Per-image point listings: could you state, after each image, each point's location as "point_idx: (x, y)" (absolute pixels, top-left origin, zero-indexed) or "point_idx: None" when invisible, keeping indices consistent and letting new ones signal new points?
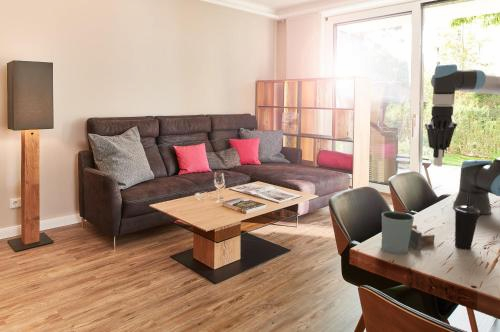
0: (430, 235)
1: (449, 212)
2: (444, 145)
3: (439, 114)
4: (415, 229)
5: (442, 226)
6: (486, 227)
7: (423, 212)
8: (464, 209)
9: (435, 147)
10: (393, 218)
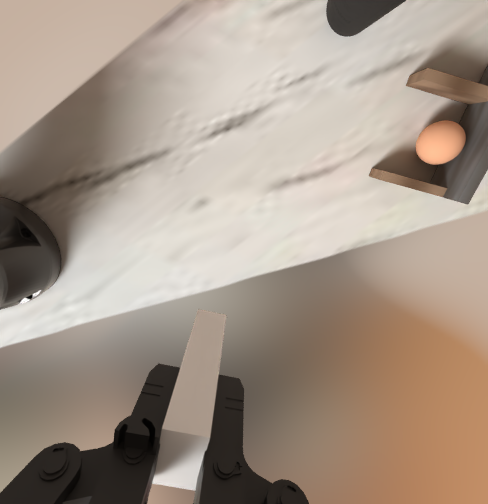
0: (442, 74)
1: (97, 262)
2: (116, 493)
3: None
4: (445, 133)
5: (230, 183)
6: (103, 107)
7: (174, 295)
8: None
9: (274, 490)
10: None
